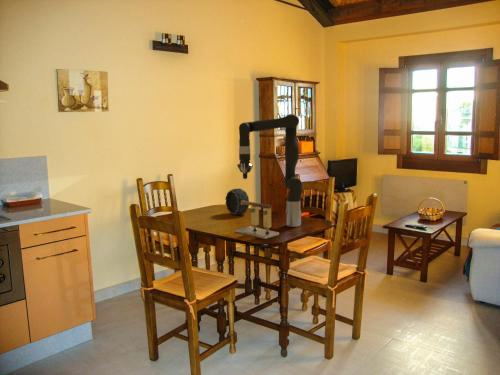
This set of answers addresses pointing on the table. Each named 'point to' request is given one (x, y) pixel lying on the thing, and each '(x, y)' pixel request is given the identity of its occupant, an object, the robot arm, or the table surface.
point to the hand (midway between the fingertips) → (245, 178)
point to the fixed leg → (267, 219)
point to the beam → (256, 204)
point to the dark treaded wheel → (236, 201)
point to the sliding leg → (254, 216)
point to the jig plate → (257, 232)
